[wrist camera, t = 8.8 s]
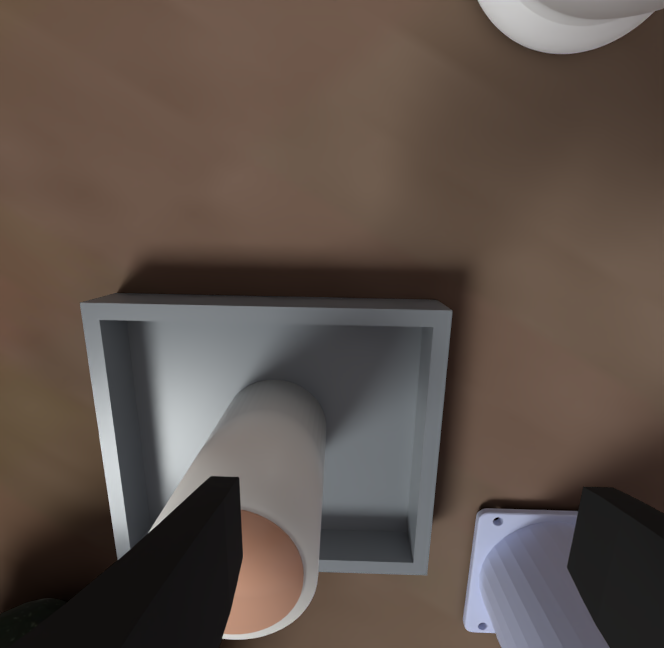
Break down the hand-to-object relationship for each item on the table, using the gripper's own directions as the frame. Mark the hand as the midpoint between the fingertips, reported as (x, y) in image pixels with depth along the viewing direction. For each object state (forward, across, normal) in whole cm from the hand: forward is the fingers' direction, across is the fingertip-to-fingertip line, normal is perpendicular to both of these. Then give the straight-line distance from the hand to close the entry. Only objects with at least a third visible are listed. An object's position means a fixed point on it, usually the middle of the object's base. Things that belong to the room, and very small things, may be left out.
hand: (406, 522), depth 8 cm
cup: (+10, +4, +3) cm, 11 cm away
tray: (+10, +4, +4) cm, 12 cm away
